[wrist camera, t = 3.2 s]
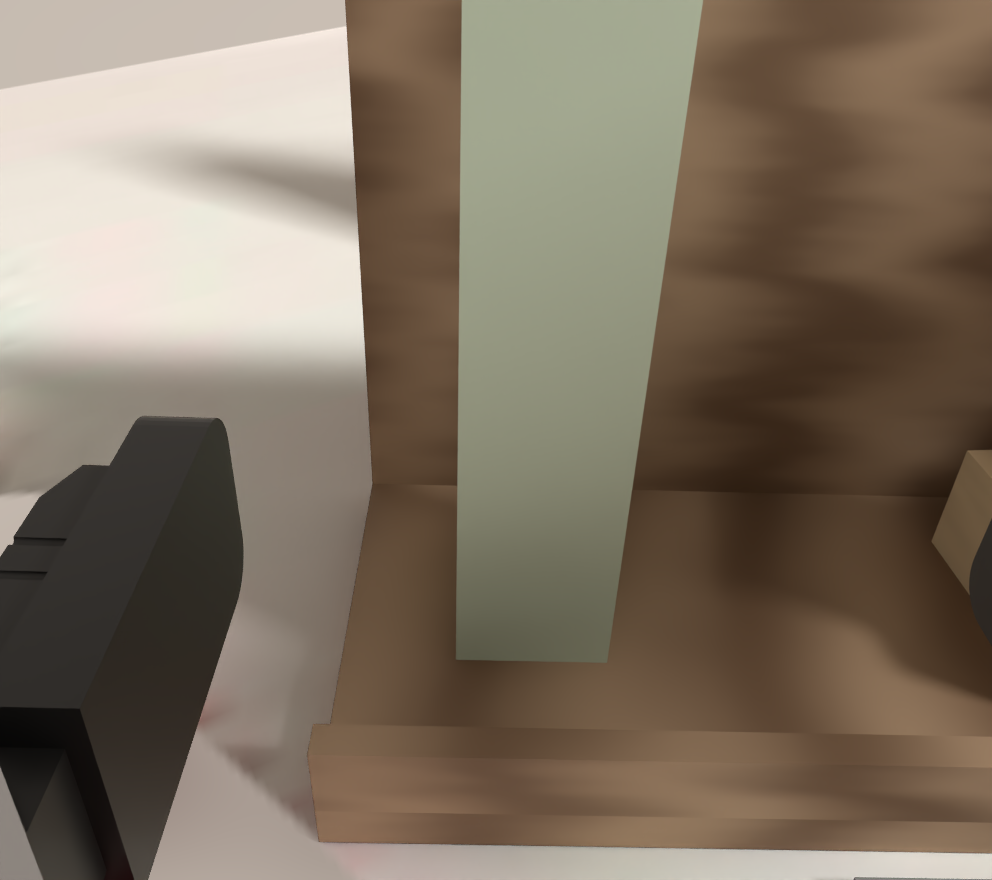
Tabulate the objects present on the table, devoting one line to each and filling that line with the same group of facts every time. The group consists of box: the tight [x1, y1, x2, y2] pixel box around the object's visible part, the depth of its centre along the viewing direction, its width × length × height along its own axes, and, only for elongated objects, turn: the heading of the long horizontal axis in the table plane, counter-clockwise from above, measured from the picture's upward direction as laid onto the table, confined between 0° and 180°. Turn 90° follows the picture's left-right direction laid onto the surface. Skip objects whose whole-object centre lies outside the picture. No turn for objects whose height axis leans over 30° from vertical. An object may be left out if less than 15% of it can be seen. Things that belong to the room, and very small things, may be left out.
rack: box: [307, 0, 992, 853], centre depth 22 cm, size 24×13×18 cm, turn 90°
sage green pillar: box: [456, 0, 703, 663], centre depth 22 cm, size 4×5×17 cm
